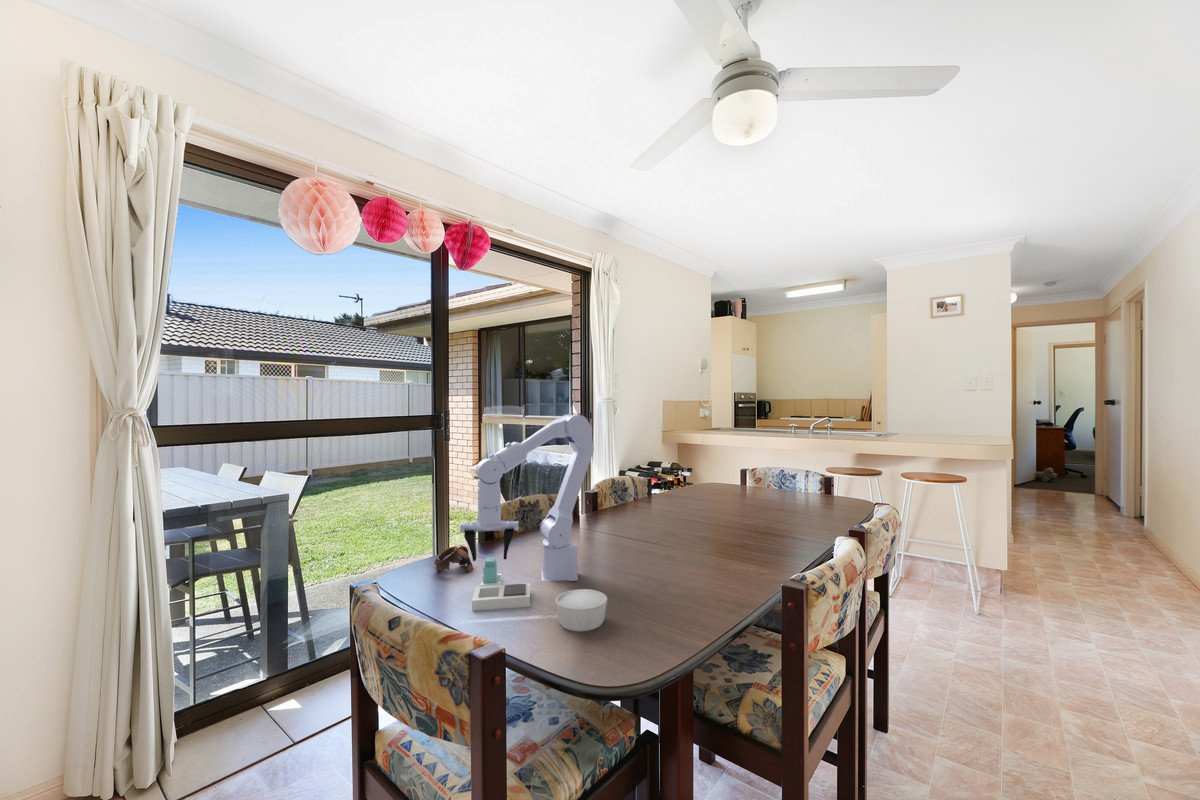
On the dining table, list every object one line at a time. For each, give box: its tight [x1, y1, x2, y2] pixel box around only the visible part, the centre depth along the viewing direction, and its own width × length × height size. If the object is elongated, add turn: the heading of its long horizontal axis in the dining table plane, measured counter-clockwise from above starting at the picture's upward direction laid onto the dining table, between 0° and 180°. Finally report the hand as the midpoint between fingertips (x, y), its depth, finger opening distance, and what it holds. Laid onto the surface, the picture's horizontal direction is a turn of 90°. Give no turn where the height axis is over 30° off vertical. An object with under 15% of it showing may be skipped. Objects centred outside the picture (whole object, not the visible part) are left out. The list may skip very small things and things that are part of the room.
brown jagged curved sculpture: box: [433, 545, 475, 574], centre depth 143 cm, size 12×10×8 cm
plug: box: [482, 556, 498, 584], centre depth 130 cm, size 3×4×6 cm
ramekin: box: [554, 588, 608, 633], centre depth 109 cm, size 11×11×5 cm
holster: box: [479, 573, 502, 586], centre depth 130 cm, size 5×8×2 cm, turn 8°
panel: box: [471, 582, 531, 612], centre depth 120 cm, size 13×9×3 cm
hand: (489, 559), depth 130 cm, fingers open, 7 cm apart
